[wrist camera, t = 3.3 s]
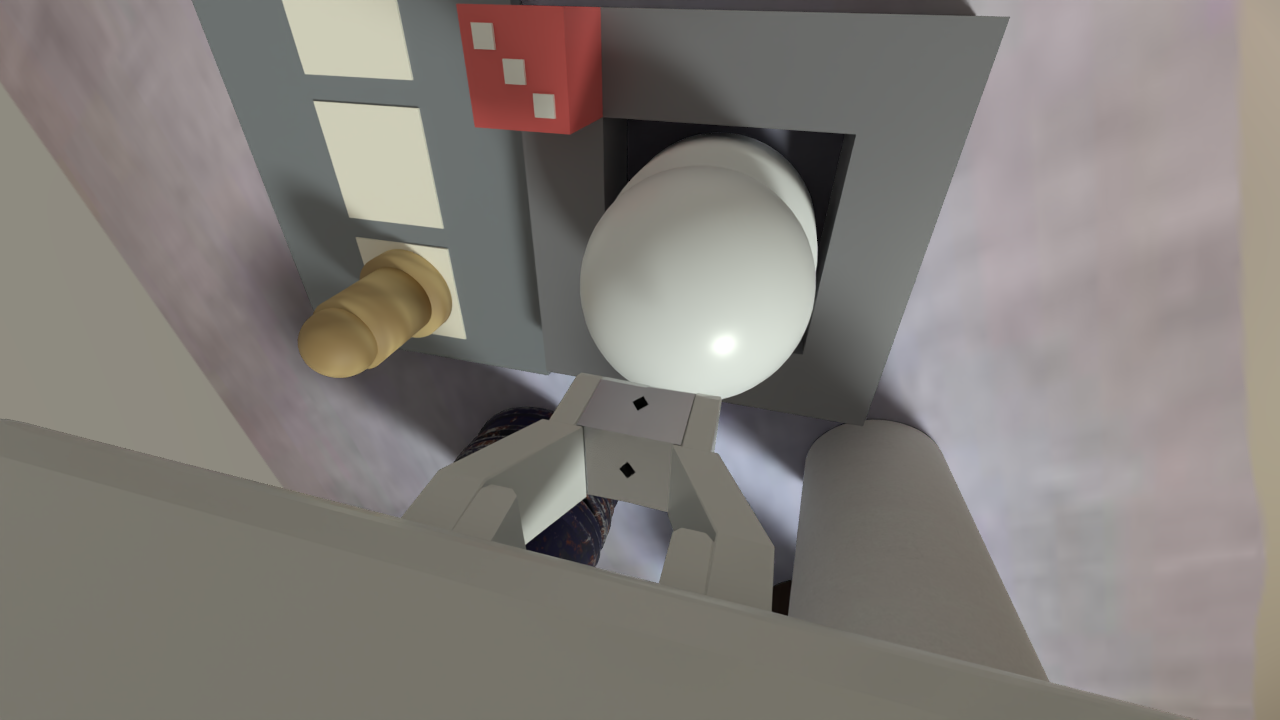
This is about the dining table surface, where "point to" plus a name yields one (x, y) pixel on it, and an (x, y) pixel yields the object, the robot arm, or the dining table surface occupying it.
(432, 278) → the pawn
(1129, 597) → the dining table surface
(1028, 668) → the coffee cup
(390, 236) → the game board
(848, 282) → the base
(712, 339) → the white rounded piece
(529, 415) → the dark blue ribbed cylinder
